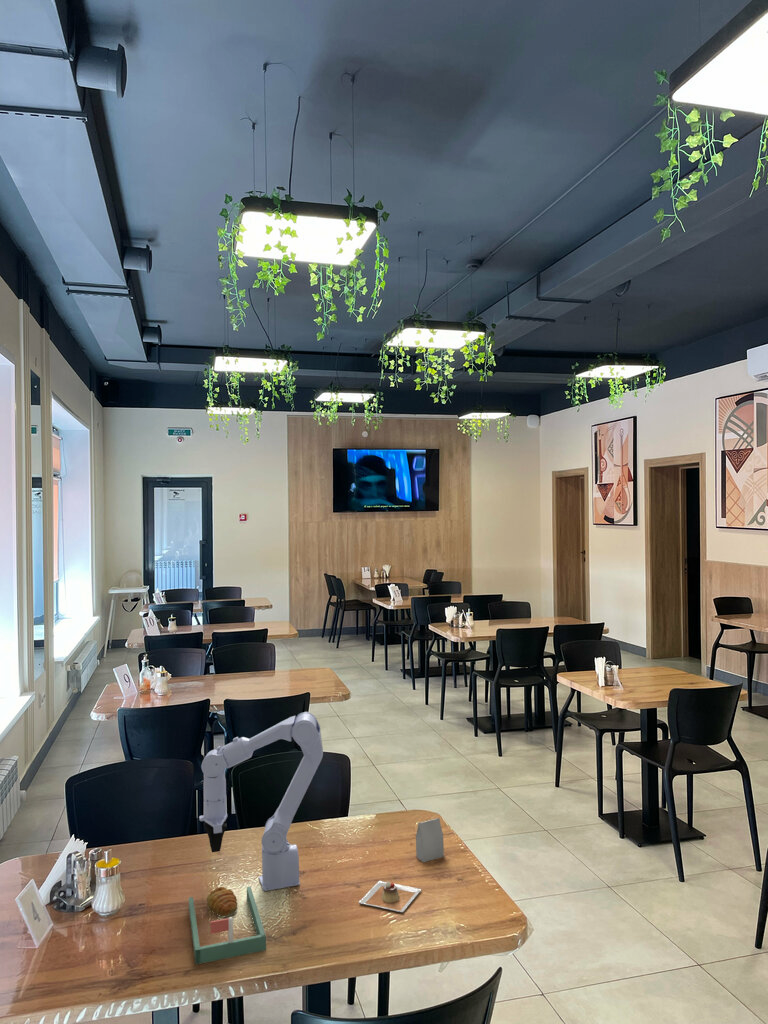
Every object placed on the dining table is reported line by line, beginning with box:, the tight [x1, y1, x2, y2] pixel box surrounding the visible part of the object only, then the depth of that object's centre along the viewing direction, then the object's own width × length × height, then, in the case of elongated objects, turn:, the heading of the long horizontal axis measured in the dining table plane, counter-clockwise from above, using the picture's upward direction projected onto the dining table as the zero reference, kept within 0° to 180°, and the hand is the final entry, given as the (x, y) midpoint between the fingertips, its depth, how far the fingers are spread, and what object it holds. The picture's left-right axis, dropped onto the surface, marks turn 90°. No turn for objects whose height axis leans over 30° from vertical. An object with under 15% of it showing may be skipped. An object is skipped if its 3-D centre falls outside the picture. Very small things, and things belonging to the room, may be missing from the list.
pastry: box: [206, 886, 238, 918], centre depth 175 cm, size 9×7×4 cm
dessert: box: [357, 879, 422, 913], centre depth 178 cm, size 12×12×5 cm
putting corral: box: [188, 886, 267, 965], centre depth 166 cm, size 15×24×8 cm, turn 18°
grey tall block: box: [415, 817, 445, 863], centre depth 200 cm, size 4×7×10 cm, turn 119°
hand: (215, 850), depth 187 cm, fingers closed
